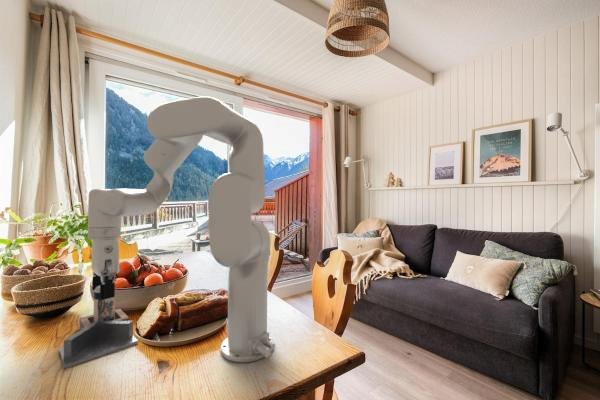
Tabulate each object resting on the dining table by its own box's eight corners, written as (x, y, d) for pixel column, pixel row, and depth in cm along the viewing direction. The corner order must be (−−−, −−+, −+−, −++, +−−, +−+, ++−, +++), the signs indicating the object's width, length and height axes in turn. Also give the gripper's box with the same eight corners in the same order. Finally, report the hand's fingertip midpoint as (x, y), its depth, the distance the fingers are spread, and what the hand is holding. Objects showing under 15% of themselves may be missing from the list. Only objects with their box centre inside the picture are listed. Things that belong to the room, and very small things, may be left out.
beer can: (101, 334, 72) (101, 289, 72) (89, 331, 74) (89, 287, 74) (118, 326, 77) (119, 284, 77) (106, 323, 78) (107, 282, 78)
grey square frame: (128, 328, 76) (129, 317, 76) (85, 341, 69) (85, 329, 69) (119, 317, 82) (119, 308, 82) (79, 328, 75) (79, 318, 75)
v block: (137, 343, 68) (138, 324, 68) (64, 369, 57) (64, 346, 57) (126, 330, 74) (126, 313, 74) (59, 351, 64) (59, 331, 64)
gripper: (129, 235, 72) (127, 298, 72) (112, 229, 84) (111, 283, 84) (94, 237, 67) (92, 306, 67) (82, 230, 78) (80, 288, 79)
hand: (103, 293), depth 75 cm, fingers open, 9 cm apart
